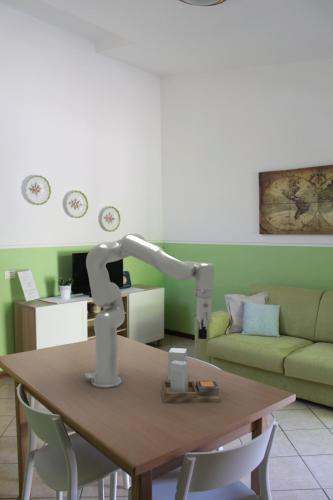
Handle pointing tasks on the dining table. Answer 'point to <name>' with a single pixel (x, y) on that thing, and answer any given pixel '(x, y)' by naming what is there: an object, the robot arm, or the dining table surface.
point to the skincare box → (179, 376)
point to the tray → (190, 393)
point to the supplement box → (176, 357)
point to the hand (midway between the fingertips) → (202, 338)
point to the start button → (207, 384)
